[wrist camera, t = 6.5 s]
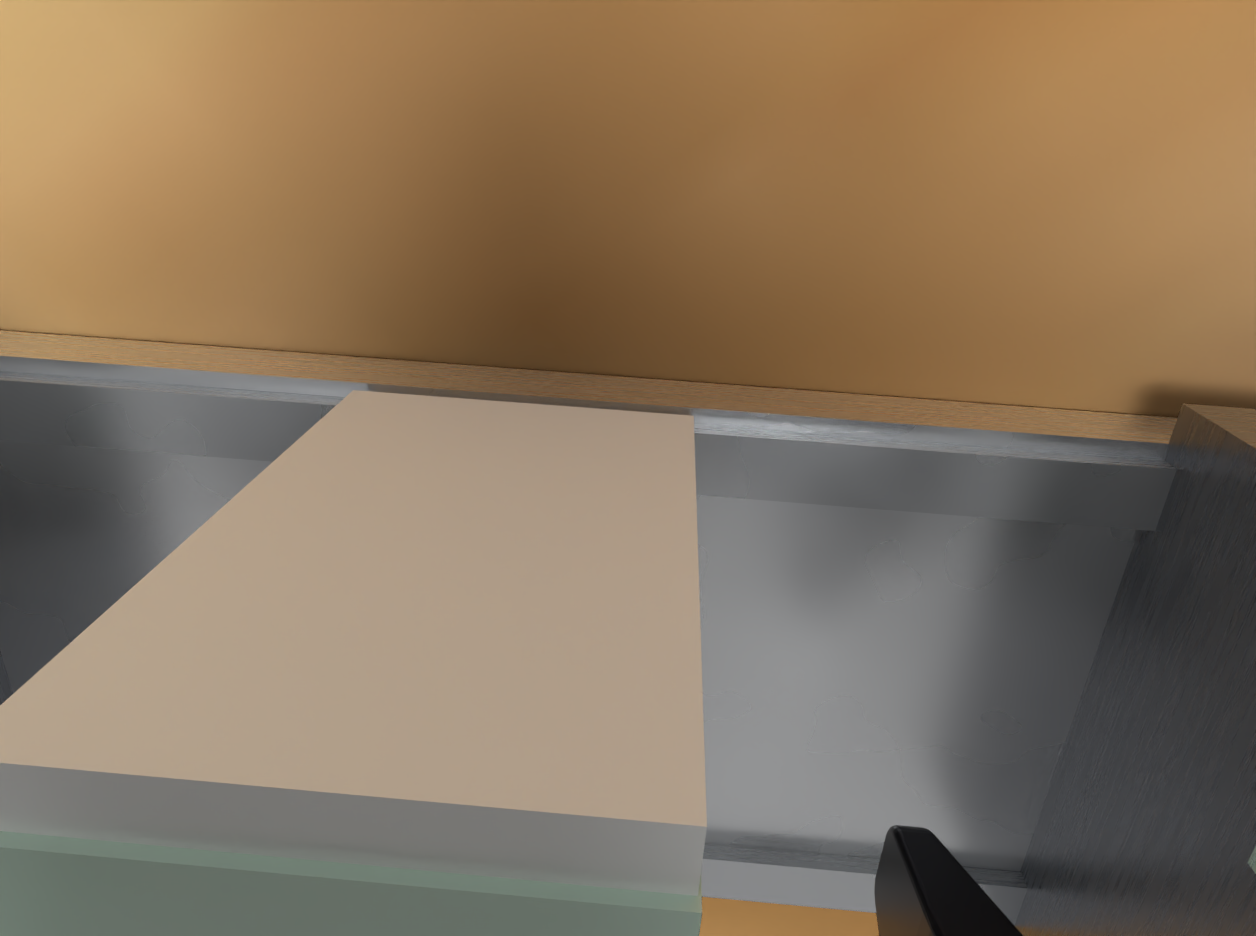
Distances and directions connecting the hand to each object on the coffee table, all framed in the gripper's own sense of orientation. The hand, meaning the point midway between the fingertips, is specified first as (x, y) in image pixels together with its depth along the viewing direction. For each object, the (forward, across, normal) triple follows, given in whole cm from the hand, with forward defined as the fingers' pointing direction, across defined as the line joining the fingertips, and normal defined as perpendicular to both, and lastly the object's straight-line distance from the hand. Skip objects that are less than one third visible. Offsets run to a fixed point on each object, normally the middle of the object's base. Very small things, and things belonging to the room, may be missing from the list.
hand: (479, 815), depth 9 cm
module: (+2, 0, 0) cm, 2 cm away
